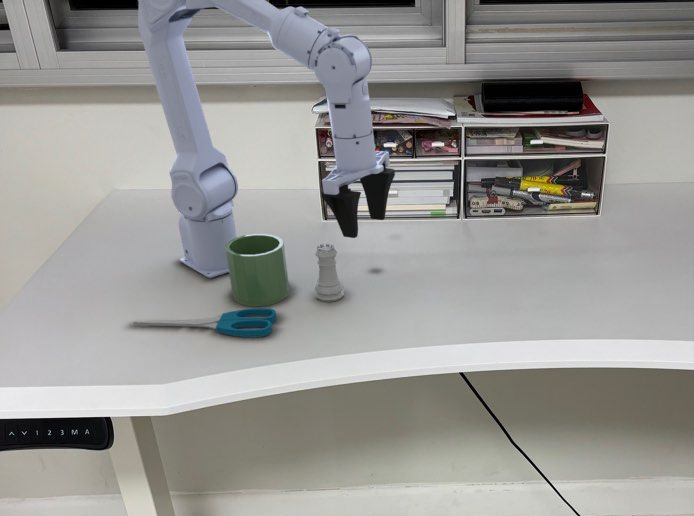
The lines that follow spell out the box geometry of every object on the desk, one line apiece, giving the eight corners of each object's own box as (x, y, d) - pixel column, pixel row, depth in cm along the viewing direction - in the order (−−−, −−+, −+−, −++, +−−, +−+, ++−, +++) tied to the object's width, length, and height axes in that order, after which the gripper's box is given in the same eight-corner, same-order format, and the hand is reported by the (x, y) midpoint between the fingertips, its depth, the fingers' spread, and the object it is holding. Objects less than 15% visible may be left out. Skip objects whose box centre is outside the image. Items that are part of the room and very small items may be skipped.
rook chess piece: (349, 292, 122) (345, 243, 117) (336, 304, 118) (332, 254, 114) (323, 287, 123) (318, 239, 118) (310, 300, 119) (304, 250, 115)
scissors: (269, 330, 109) (124, 331, 109) (270, 336, 110) (126, 337, 110) (277, 308, 115) (140, 309, 115) (278, 313, 115) (142, 315, 115)
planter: (222, 293, 121) (214, 244, 117) (268, 277, 126) (262, 229, 122) (253, 311, 116) (245, 261, 112) (300, 294, 121) (294, 244, 117)
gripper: (347, 149, 103) (360, 248, 110) (403, 122, 114) (411, 213, 121) (304, 146, 106) (319, 242, 113) (362, 119, 117) (372, 209, 124)
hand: (364, 227), depth 117 cm, fingers open, 7 cm apart
